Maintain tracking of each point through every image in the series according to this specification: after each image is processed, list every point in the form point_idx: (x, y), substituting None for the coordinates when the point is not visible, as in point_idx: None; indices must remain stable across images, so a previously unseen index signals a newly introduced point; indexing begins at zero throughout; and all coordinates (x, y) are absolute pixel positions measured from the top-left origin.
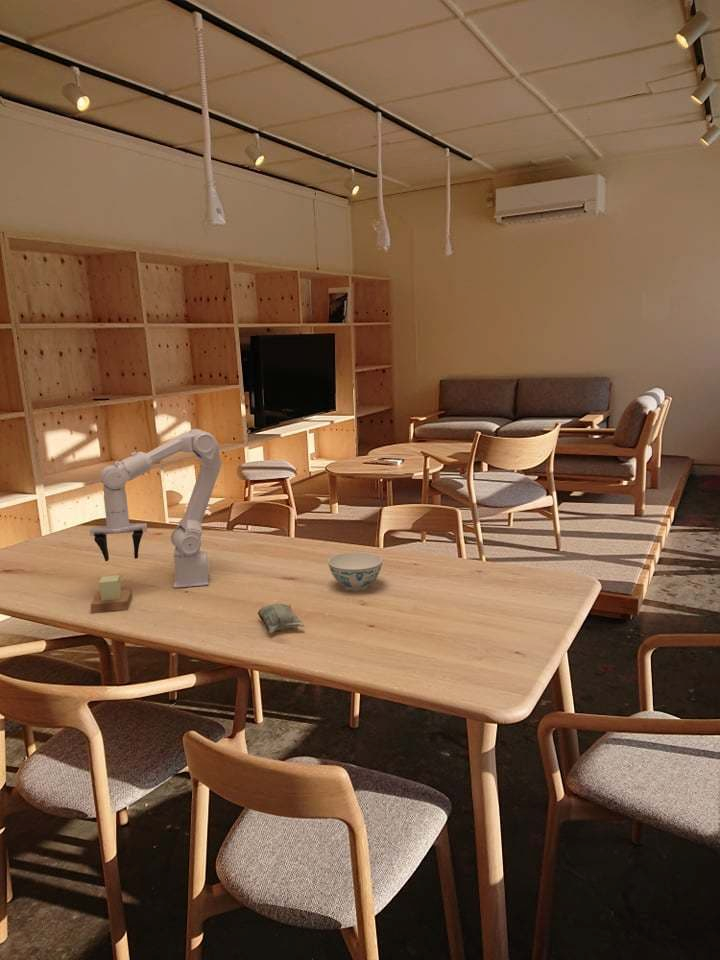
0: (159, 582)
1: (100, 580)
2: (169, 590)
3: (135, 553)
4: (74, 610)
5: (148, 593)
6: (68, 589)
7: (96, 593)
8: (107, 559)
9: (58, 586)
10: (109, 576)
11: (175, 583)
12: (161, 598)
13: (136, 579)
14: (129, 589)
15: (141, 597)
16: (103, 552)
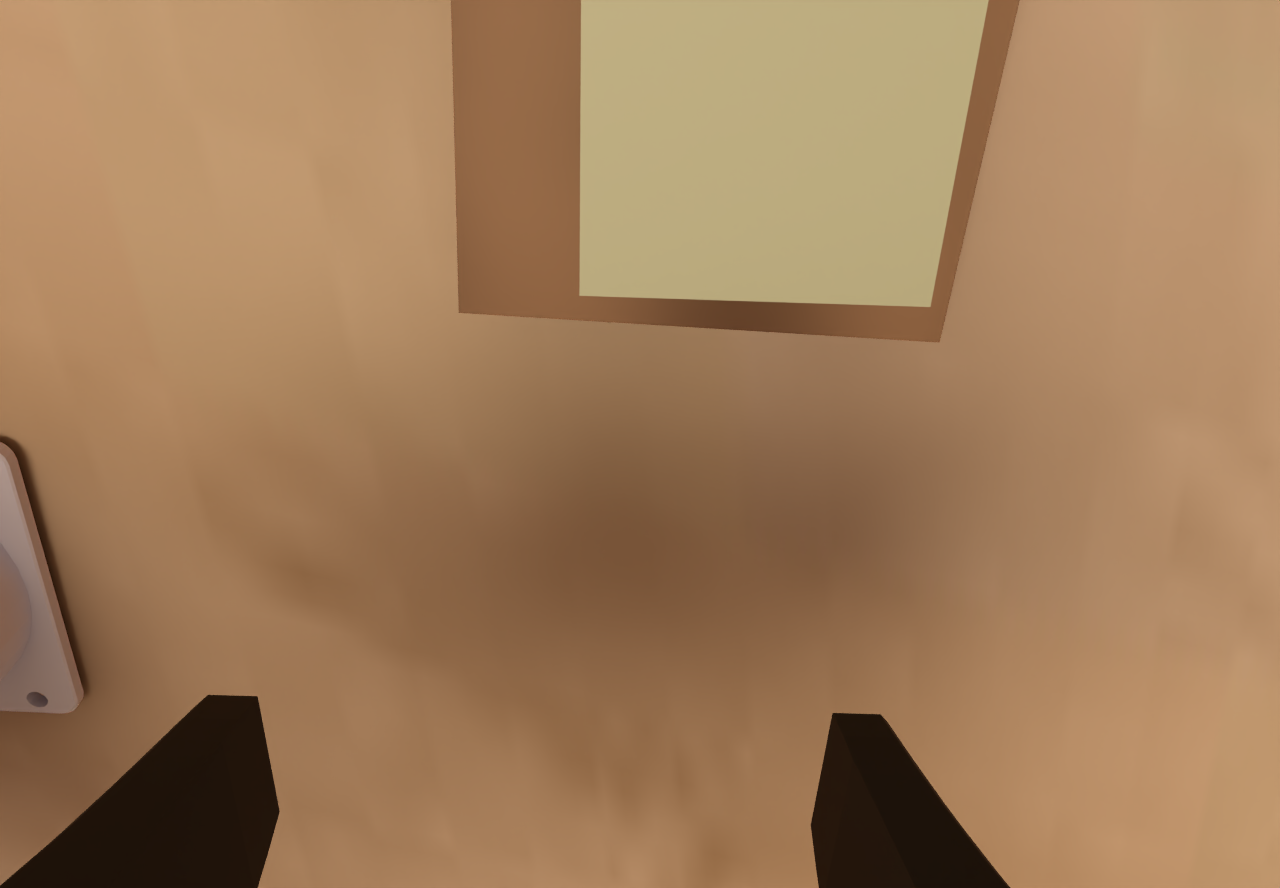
0: (253, 658)
1: (970, 53)
2: (56, 393)
3: (160, 773)
4: (1226, 23)
5: (303, 367)
6: (1182, 716)
7: (950, 287)
8: (842, 735)
9: (1258, 806)
10: (778, 272)
11: (14, 540)
12: (74, 128)
13: (518, 787)
14: (492, 310)
15: (365, 252)
16: (971, 874)
